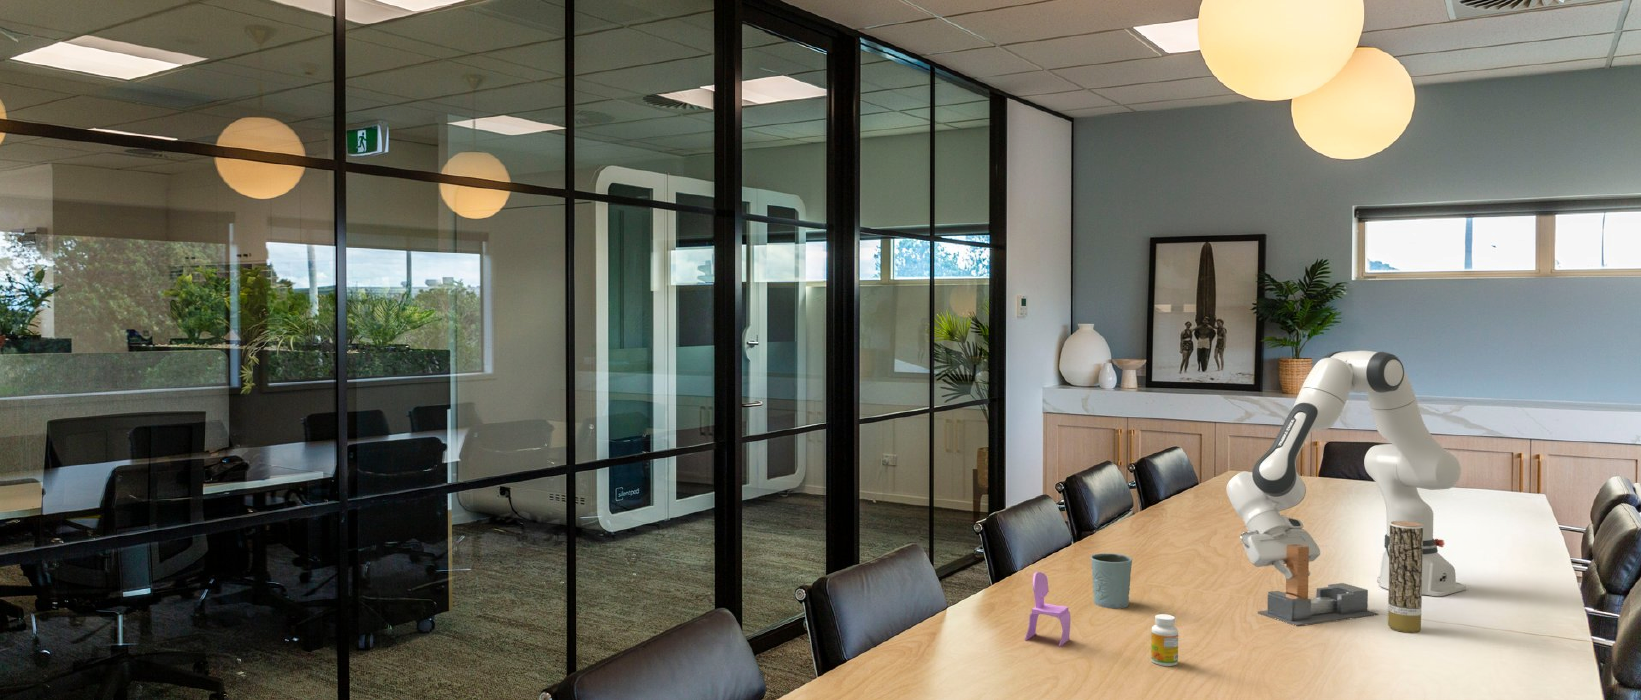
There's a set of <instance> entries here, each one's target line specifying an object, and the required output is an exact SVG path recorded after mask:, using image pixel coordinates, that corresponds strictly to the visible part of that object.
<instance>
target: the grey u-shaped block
mask: <svg viewBox="0 0 1641 700" xmlns="http://www.w3.org/2000/svg"><path fill="white" fill-rule="evenodd" d="M1315 592H1316V593H1315V594H1316V595H1315V596H1316V597H1315V598H1318V597H1328V598H1332V599H1335V600H1337V614H1340V615H1345V614H1352V613H1359V612H1367V611H1368V609H1369V608H1368V607H1369V606H1368V604H1369V589H1367V588H1362V587H1359V586H1355V585H1352V584H1347V583H1344V582H1340V583H1333V584H1331V583H1330V584H1327V587H1317V588H1316V591H1315Z"/></svg>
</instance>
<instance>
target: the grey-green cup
mask: <svg viewBox="0 0 1641 700" xmlns="http://www.w3.org/2000/svg"><path fill="white" fill-rule="evenodd" d="M1090 563H1091V573H1092V574H1091V575H1092V579H1091V580H1092V588H1093V589H1092V591H1093V602H1094V605H1095V606H1099V607H1101V608H1105V609H1124V608H1127V607H1128V606H1129V603H1130V602H1129V601H1130V590H1131V588H1130V587H1131V574H1132V573H1131V572H1132V564H1133V558H1132V557H1130V556H1128V555H1126V554H1119V553H1113V552H1112V553H1110V552H1109V553H1108V552H1104V553H1094V554H1093V555H1091V556H1090Z"/></svg>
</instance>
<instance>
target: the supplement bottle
mask: <svg viewBox="0 0 1641 700" xmlns="http://www.w3.org/2000/svg"><path fill="white" fill-rule="evenodd" d="M1154 617H1155V618H1154V623H1155V624H1154V625H1153V626H1152V627H1151V637H1150V638H1151V639H1150V640H1151V645H1150V660H1151V662H1152V663H1153V664H1155V665H1158V666H1162V667H1172V666H1173V667H1175V666H1176V665H1177V664H1178V662H1179V661H1178V660H1179V629H1178V628H1177V627H1176V626H1175V624H1176V617H1175V616H1173V615H1170V614H1165V613H1161V614H1156V615H1155V616H1154Z"/></svg>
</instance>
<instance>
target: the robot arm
mask: <svg viewBox="0 0 1641 700" xmlns="http://www.w3.org/2000/svg"><path fill="white" fill-rule="evenodd" d="M1411 383H1412V382H1411V381H1410V379H1409V377H1408V374H1407V373H1406V371H1405V369H1404V365H1403V363H1402V361H1401V360H1400V359H1399V357H1398V356H1396V355H1395V354H1393V353H1390V352H1387V351H1385V352H1384V351H1371V350H1351V351H1341V350H1339V351H1333V352H1330V353H1328V354H1325V356H1323V357H1322V358H1321V359H1319V360H1318V361H1317V362H1316V363H1315V364H1314V366H1313V367H1312V369H1311V370H1310V372H1309V373H1308V375H1307V376H1306V378H1305V380H1304V382H1303V384H1302V385H1301V387H1300V390H1299V393H1298V394H1297V396H1296V399H1295V402H1294V404H1293V405H1292V406H1293V407H1292V409H1291V411H1290V412H1289V414H1288V415H1287V417H1286V419H1285V421H1284V422H1283V424H1282V426H1281V428H1280V430H1279V431H1278V434H1277V436H1275V439H1274V441H1273V443H1272V445H1271V446H1270V447H1269V449H1268V450H1267V451H1266V453H1264V454H1263V455H1262V456H1261V457H1259V459H1258V460H1257V461H1256V463H1255V464H1254V465H1253V468H1252V471H1251V472H1250V471H1246V470H1245V471H1240V472H1238V473H1236V474H1235V475H1233V476H1232V477H1231V478H1230V479H1229V480H1228V483H1227V484H1226V488H1225V489H1226V490H1225V491H1226V495H1227V498H1228V499H1229V502H1230V503H1231V505H1232V507H1233V509H1234V511H1235V512H1236V514H1237V515H1238V516H1239V517H1240V518H1241V519H1242V520H1243V522H1244V525H1245V528H1246V530H1247V531H1243V532H1241V533H1240V536H1239V538H1240V542H1241V543H1242V544H1243V548H1244V551H1245V553H1246V555H1247V557H1248V559H1249V561H1250V563H1251V564H1252V565H1253V566H1255V567H1256V568H1260V567H1271V566H1274V568H1275V569H1276V570H1277V571H1279V572H1280V573H1281V574H1283V576H1284V577H1285V580H1286V579H1293V578H1294V577H1295V573H1294V572H1293V570H1290V569H1288V568H1287V567H1286V558H1287V545H1293V544H1299V545H1303V546H1307V547H1309V563H1310V562H1314V561H1315V560H1317V558H1319V556H1320V555H1321V550H1320V547H1319V545H1318V544H1317V542H1316V541H1315V540H1314V538H1313V537H1312V536H1311V534H1310V533H1309V532H1308V531H1307V530H1305V529H1303V528H1304V523H1303V522H1302V520H1300V519H1296V518H1292V517H1289V516H1286V515H1283V514H1280V512H1282V511H1286V510H1288V509H1291V508H1294V507H1296V506H1297V505H1299V504H1300V503H1302V501H1303V500H1304V498H1305V496H1306V491H1307V487H1306V483H1305V482H1304V481H1303V478H1302V477H1301V475H1299V473H1298V470H1297V465H1296V464H1297V459H1298V457H1299V455H1300V453H1301V451H1302V449H1303V447H1304V445H1305V443H1306V442H1307V439H1308V437H1309V435H1310V434H1311V433H1312V432H1313V431H1320V432H1321V431H1325V430H1328V429H1330V428H1332V427H1333V426H1334V425H1335V424H1336V422H1337V421H1338V419H1339V418H1340V416H1341V414H1342V412H1343V409H1344V407H1345V405H1346V403H1347V400H1348V398H1349V394H1350V393H1357V394H1358V393H1360V394H1361V393H1366V394H1367V399H1368V403H1369V408H1370V410H1371V413H1372V417H1373V420H1374V421H1373V422H1374V424H1375V428H1376V431H1377V432H1378V433H1379V435H1380V436H1381V437H1382V438H1384V439H1385V440H1387V441H1388V442H1389V443H1386V444H1385V443H1383V444H1377V445H1374V446H1371V447H1370V448H1369V449H1368V450H1367V451H1366V454H1365V455H1364V461H1363V462H1364V463H1363V464H1364V469H1365V472H1366V473H1367V474H1368V475H1369V477H1371V479H1373V481H1374V482H1375V483H1376V485H1377V486H1378V489H1379V490H1380V492H1381V495H1382V497H1383V500H1384V504H1385V511H1386V512H1385V513H1386V514H1385V515H1386V534H1385V535H1384V539H1383V540H1384V541H1383V543H1384V544H1383V545H1384V548H1385V551H1383V553H1382V556H1381V565H1380V574H1379V576H1377V578H1376V581H1377V582H1378V586H1379V587H1382V588H1384V589H1386V590H1389V541H1390V522H1392V521H1406V522H1414V523H1419V524H1422V525H1423V555H1422V595H1425V596H1433V597H1444V596H1447V595H1451V594H1455V593H1459V592H1463V591H1466V590H1467V586H1466V585H1465V584H1462V583H1460V582H1457V578H1456V577H1457V576H1456V569H1455V567H1454V566H1453V565H1452V564H1451V562H1449V561H1448V560H1446V558H1444V557H1443V556H1442V555H1441V554H1440V553H1439V550H1438V547H1439V548H1444V546H1445V541H1444V540H1443V539H1439V538H1434V511H1433V509H1432V507H1431V506H1430V505H1429V504H1428V503H1427V502H1425V501H1424V500H1423V499H1422V497H1421V496H1420V493H1419V491H1418V489H1417V488H1419V489H1424V490H1430V491H1431V490H1432V491H1433V490H1435V491H1436V490H1438V491H1439V490H1449V489H1451V488H1453V487H1455V486H1456V485H1457V483H1458V482H1459V480H1460V478H1461V475H1462V468H1461V463H1460V461H1459V460H1458V458H1457V457H1456V456H1455V455H1454V454H1452V453H1451V452H1450V451H1447V450H1446V449H1445V447H1443V446H1442V445H1441V444H1440V443H1439V442H1438V441H1437V440H1436V438H1434V437H1433V435H1432V433H1431V432H1430V431H1429V429H1428V428H1427V426H1426V424H1425V422H1424V420H1423V417H1422V414H1421V411H1420V409H1419V405H1418V402H1417V398H1416V395H1415V392H1414V389H1413V386H1412V384H1411ZM1310 575H1311V572H1310V570H1309V571H1308V577H1310Z"/></svg>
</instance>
